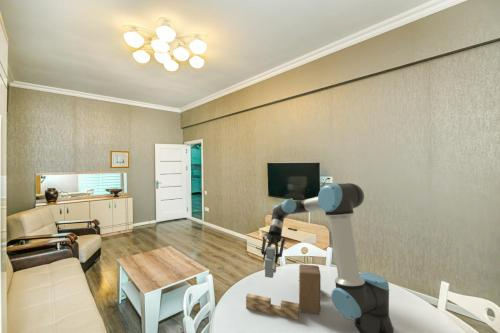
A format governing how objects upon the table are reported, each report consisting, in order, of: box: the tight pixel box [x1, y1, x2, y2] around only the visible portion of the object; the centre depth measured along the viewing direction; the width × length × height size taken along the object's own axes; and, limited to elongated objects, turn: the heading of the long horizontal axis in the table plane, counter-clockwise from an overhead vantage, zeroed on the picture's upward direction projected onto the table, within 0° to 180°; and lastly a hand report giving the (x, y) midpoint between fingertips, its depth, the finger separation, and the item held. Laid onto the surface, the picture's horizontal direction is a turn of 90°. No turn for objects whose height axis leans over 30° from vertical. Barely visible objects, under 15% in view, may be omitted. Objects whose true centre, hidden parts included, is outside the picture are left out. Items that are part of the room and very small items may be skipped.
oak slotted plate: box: [245, 293, 300, 320], centre depth 112 cm, size 26×2×6 cm, turn 71°
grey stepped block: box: [264, 246, 277, 279], centre depth 124 cm, size 8×4×14 cm, turn 160°
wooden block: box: [298, 263, 322, 315], centre depth 115 cm, size 10×10×20 cm
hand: (268, 268), depth 120 cm, fingers closed on grey stepped block, 4 cm apart
